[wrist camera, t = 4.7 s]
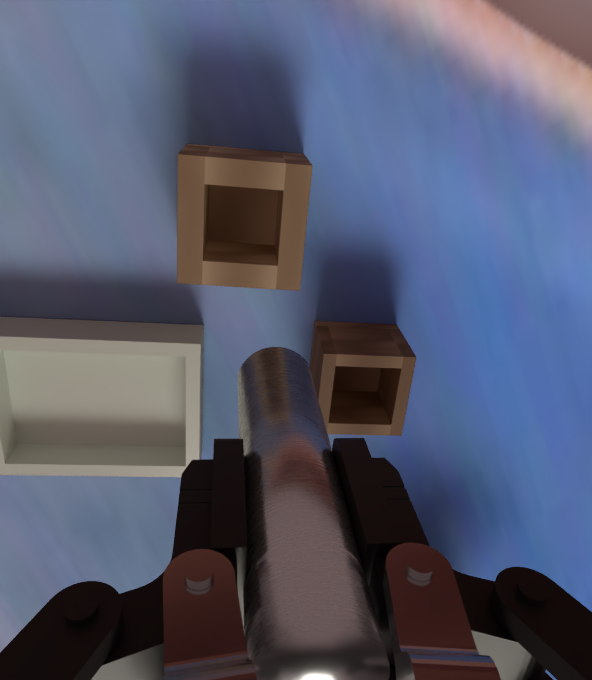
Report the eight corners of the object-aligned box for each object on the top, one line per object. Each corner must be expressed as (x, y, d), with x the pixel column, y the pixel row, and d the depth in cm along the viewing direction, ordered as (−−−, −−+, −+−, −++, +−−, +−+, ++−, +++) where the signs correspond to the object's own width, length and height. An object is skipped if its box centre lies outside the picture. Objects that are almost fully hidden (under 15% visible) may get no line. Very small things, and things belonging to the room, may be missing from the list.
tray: (203, 325, 33) (200, 344, 31) (201, 451, 37) (199, 477, 34) (-12, 316, 32) (-33, 335, 29) (9, 448, 35) (-8, 474, 33)
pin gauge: (314, 347, 18) (399, 628, 9) (308, 411, 19) (379, 720, 10) (238, 346, 18) (248, 635, 9) (236, 411, 19) (244, 730, 10)
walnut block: (396, 323, 34) (416, 357, 30) (384, 395, 36) (401, 435, 32) (314, 320, 34) (323, 353, 29) (306, 392, 36) (314, 433, 32)
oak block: (303, 153, 29) (312, 165, 25) (293, 263, 32) (299, 290, 28) (187, 143, 29) (177, 154, 25) (186, 256, 31) (177, 283, 27)
